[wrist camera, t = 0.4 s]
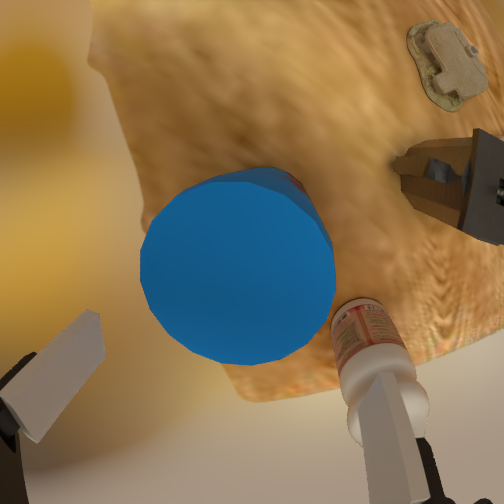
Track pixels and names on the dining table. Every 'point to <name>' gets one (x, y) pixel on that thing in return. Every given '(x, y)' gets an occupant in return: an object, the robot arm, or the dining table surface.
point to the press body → (457, 183)
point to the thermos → (240, 267)
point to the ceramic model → (446, 64)
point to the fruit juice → (374, 361)
